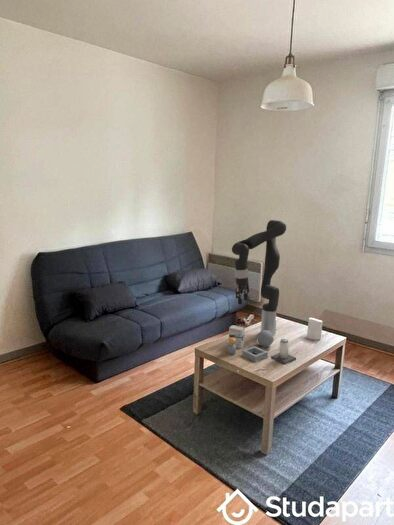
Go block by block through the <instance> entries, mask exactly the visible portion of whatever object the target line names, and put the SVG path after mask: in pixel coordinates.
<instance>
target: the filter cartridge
mask: <svg viewBox="0 0 394 525" xmlns="http://www.w3.org/2000/svg"><path fill="white" fill-rule="evenodd" d="M289 346H290V342H289V339H287V338H281V339H280V341H279V350H278V351H279V352H278V353H279V357H280V358H284V359H286V358H288V354H289V349H290V347H289Z"/></svg>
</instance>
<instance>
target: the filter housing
mask: <svg viewBox="0 0 394 525" xmlns="http://www.w3.org/2000/svg"><path fill="white" fill-rule="evenodd" d="M226 353H227V354H228V355H230V356H234V355H236V353H237V347H236V344H227V349H226ZM254 353H255V354H254ZM268 354H269V352H268V351H266V350H264V349H261V348H259V347H257V346H255V345H253V346H251V347H248V348H246V349H242V354H241V356H243V357H244V358H247V359H249V360H251V361H253V362H255V363H256V362H258V361H261V360H263V359H266V358H268V356H269V355H268Z"/></svg>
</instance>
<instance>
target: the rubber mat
mask: <svg viewBox="0 0 394 525" xmlns="http://www.w3.org/2000/svg"><path fill="white" fill-rule="evenodd" d="M270 358H271V359H273V360H275V361H277V362H280V363H281V364H284V365H286V364H288V363H291V362H294V361H296V360H297V357H295V356H293V355H291V354H290V353H288V358H286V359H284V358H280V357H279V352H277V353H275V354H273V355H271V356H270Z"/></svg>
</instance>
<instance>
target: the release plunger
mask: <svg viewBox="0 0 394 525" xmlns="http://www.w3.org/2000/svg"><path fill="white" fill-rule="evenodd" d="M228 342H229V344H235V342H236V339H235V338H233V337H230V338H229V337H228Z"/></svg>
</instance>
